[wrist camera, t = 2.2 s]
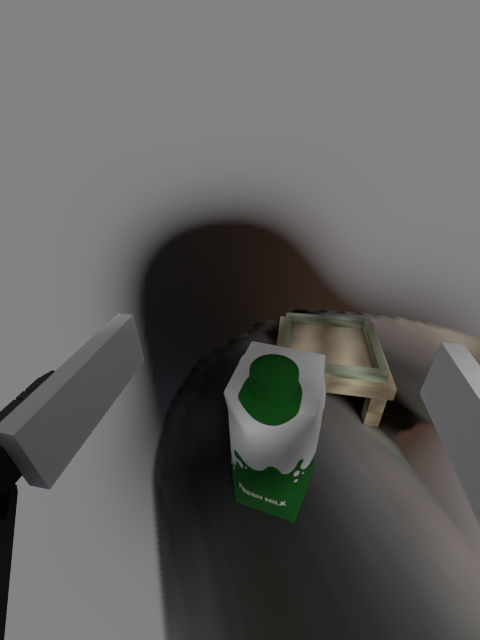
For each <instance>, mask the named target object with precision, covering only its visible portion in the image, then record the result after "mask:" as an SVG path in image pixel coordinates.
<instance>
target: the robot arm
mask: <svg viewBox="0 0 480 640" xmlns="http://www.w3.org/2000/svg"><path fill="white" fill-rule="evenodd" d="M143 362H144V358H143V354H142V350H141V346H140V342H139V338H138V334H137V330H136V326H135V322H134V318H133V315H128V314H117V315H116V316H115V317H114V318H113V319H112V320H111V321H109V322H108V323H107V324H106V325H105V326H104V327H103V328H102V329H101V330H100V331H99V332H98V333H96V334H95V335H94V336H93V337H92V338H91V339H90V340H89V341H88V342H87V343H86V344H85V345H83V346H82V347H81V348H80V349H79V350H78V351H77V352H76V353H75V354H74V355H73V356H72V357H70V358H69V359H68V360H67V361H66V362H65V363H64V364H63V365H62V366H61V367H60V368H59V369H57V370H56V371H51V372H49V373H47V374H45V375H43V376H42V377H40V378H38V379H37V380H36V381H34V382H33V383H32V384H31V385H30V386H29V387H28V388H27V389H26V391H23V392H22V393H21V394H20V395H19V396H18V397H16V400H13V401H12V402H11V403H10V404H9V405H7V406H6V407H5V408H4V409H3V410H2V411H1V412H0V640H4V634H5V623H6V613H7V602H8V591H9V580H10V570H11V559H12V547H13V537H14V526H15V516H16V504H17V494H18V490H17V485H15V483H16V482H17V480H18V479H19V478H20V477H21V476H23V477H24V478H25V479H26V481H27V482H28V484H29V485H31V486H36V487H40V488H45V489H50V488H51V487H52V485H53V484H54V483H55V482H56V480H57V479H58V477H59V476H60V475H61V473H62V472H63V471H64V469H65V468H66V467H67V465H68V464H69V463H70V461H71V460H72V458H73V457H74V456H75V454H76V453H77V452H78V450H79V449H80V448H81V446H82V445H83V443H84V442H85V441H86V439H87V438H88V437H89V435H90V434H91V433H92V431H93V430H94V428H95V427H96V426H97V424H98V423H99V421H100V420H101V419H102V418H103V416H104V415H105V413H106V412H107V411H108V409H109V408H110V407H111V405H112V404H113V402H114V401H115V399H116V398H117V397H118V396H119V394H120V393H121V392H122V390H123V389H124V388H125V386H126V385H127V383H128V382H129V381H130V379H131V378H132V376H133V375H134V374H135V373H136V371H137V370H138V368H139V367H140V365H141V364H142V363H143ZM420 395H421V397H422V399H423V401H424V404H425V406H426V408H427V410H428V413H429V415H430V417H431V419H432V421H433V424H434V426H435V428H436V430H437V432H438V435H439V436H440V439H441V441H442V444H443V446H444V448H445V450H446V452H447V455H448V457H449V459H450V461H451V463H452V465H453V468H454V470H455V472H456V474H457V477H458V479H459V481H460V483H461V486H462V488H463V490H464V492H465V494H466V497H467V499H468V501H469V503H470V506H471V508H472V510H473V512H474V514H475V517H476V519H477V521H478V523H479V525H480V365H479V364H478V363H477V361H476V360H475V359H474V358H473V356H472V355H471V354H470V352H469V351H468V350H467V349H466V347H465V346H464V345H463V344H457V343H446V342H441V344H440V346H439V348H438V351H437V353H436V356H435V358H434V360H433V363H432V365H431V367H430V370H429V372H428V374H427V377H426V379H425V381H424V384H423V386H422V388H421V391H420Z"/></svg>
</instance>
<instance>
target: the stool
mask: <svg viewBox="0 0 480 640" xmlns="http://www.w3.org/2000/svg"><path fill="white" fill-rule="evenodd" d="M277 346H280V347H286V348H291V349H296V350H302V351H307V352H312V353H317V354H323V355H325V371H324V378H325V386H326V393H334V394H343V395H351V396H360V397H366V399H365V402H364V406H363V409H362V413H361V416H362V421H363V425H369V426H377V427H378V425H379V422H380V419H381V416H382V413H383V411H384V408H385V405H386V402H387V400H393V399H394V397H395V394H396V391H397V388H396V385H395V383H394V380H393V377H392V374H391V372H390V369H389V366H388V363H387V361H386V358H385V355H384V353H383V350H382V347H381V344H380V342H379V339H378V336H377V333H376V331H375V328H374V325H373V323H371V321H370V319H367V318H354V317H340V316H327V315H314V314H300V313H286V317H282V316H281V317H280V325H279V332H278V339H277Z"/></svg>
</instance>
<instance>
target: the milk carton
mask: <svg viewBox="0 0 480 640" xmlns="http://www.w3.org/2000/svg"><path fill="white" fill-rule="evenodd" d="M324 371H325V355H323V354H317V353H312V352H307V351H302V350H296V349H291V348H286V347H280V346H275V345H270V344H264V343H259V342H254V341H252V342H251V344H250V346H249V347H248V349H247V351H246V353H245V355H243V356H242V357H241V359H240V361H239V364H238V366H237V368H236V370H235V372H234V374H233V375H232V377H231V379H230V381H229V383H228V385H227V387H226V389H225V391H224V396H225V400H226V403H227V407H228V413H229V429H230V444H231V459H232V473H233V484H234V495H235V502H238V503H241V504H243V505H246V506H249V507H251V508H254V509H257V510H260V511H262V512H265V513H268V514H270V515H273V516H276V517H279V518H281V519H284V520H287V521H289V522H292V523H295V520H296V518H297V515H298V512H299V510H300V507H301V505H302V502H303V499H304V497H305V494H306V491H307V488H308V485H309V481H310V477H311V473H312V469H313V464H314V458H315V453H316V448H317V442H318V437H319V431H320V426H321V420H322V412H323V411H324V406H325V398H326V386H325V378H324Z"/></svg>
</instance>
